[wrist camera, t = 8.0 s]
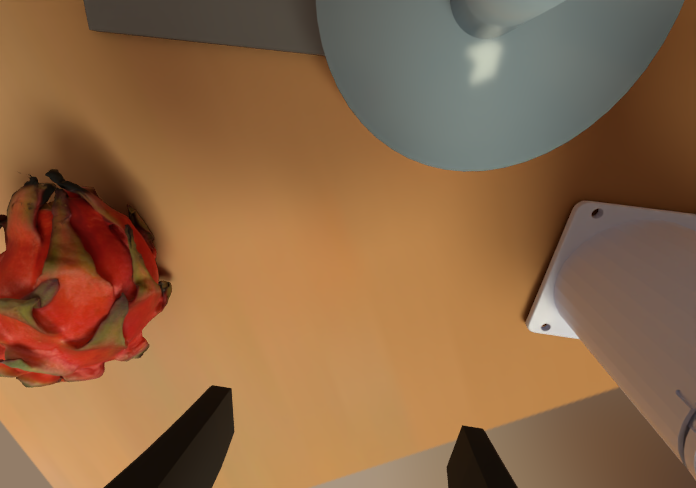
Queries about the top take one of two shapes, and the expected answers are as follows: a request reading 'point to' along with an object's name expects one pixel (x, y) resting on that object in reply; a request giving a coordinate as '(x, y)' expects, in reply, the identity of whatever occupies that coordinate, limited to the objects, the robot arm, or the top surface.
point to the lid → (487, 71)
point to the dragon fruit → (73, 284)
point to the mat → (214, 22)
